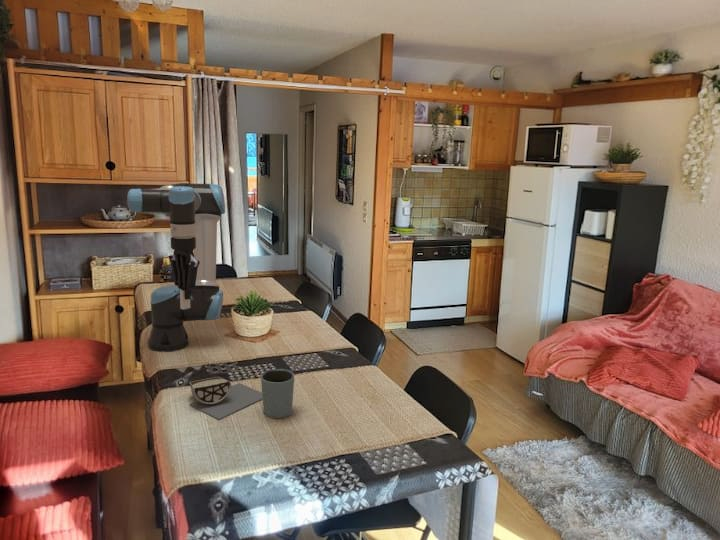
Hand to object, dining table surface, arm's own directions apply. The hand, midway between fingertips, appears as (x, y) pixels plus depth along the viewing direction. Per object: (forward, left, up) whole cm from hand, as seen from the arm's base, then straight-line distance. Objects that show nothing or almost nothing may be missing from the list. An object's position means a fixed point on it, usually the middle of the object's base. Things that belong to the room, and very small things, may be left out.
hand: (185, 308), depth 174 cm
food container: (+10, -1, -25) cm, 27 cm away
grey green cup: (+36, +6, -27) cm, 45 cm away
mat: (+20, +1, -26) cm, 33 cm away
